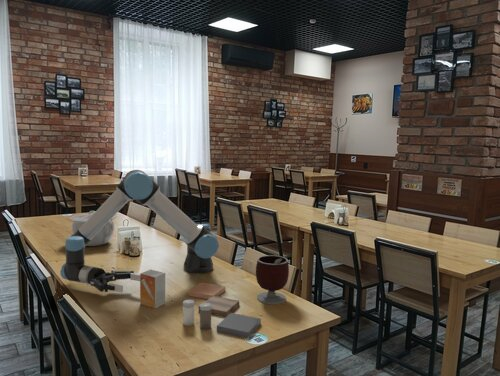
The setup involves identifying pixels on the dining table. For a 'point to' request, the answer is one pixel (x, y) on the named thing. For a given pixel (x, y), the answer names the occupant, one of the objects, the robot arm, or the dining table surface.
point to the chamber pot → (101, 236)
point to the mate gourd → (272, 278)
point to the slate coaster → (239, 325)
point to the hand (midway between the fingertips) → (133, 283)
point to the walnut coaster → (222, 305)
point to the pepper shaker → (205, 316)
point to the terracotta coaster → (206, 290)
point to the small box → (152, 288)
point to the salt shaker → (188, 312)
